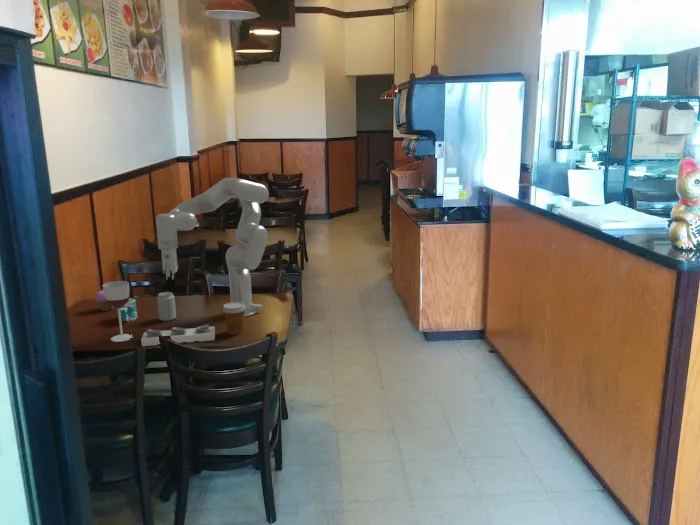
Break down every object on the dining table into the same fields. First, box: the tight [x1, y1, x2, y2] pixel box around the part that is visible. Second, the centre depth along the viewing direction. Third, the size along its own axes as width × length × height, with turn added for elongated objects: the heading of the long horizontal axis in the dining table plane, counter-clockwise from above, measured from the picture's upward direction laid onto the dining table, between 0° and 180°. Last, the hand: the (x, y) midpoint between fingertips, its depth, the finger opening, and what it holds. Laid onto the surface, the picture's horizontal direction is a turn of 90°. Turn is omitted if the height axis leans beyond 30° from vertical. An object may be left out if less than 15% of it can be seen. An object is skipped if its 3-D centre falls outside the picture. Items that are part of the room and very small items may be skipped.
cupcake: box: [95, 289, 114, 312], centre depth 271 cm, size 9×9×10 cm
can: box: [156, 291, 177, 322], centre depth 256 cm, size 8×8×12 cm
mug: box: [116, 298, 138, 322], centre depth 256 cm, size 8×12×8 cm
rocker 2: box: [195, 323, 210, 332], centre depth 232 cm, size 5×3×1 cm, turn 101°
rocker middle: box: [171, 326, 186, 333], centre depth 230 cm, size 5×3×1 cm, turn 101°
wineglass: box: [102, 280, 134, 343], centre depth 233 cm, size 9×10×23 cm
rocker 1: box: [146, 328, 162, 335], centre depth 229 cm, size 5×3×1 cm, turn 101°
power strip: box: [140, 326, 216, 347], centre depth 232 cm, size 28×8×3 cm, turn 101°
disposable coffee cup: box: [221, 301, 246, 336], centre depth 238 cm, size 10×10×12 cm
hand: (171, 288), depth 234 cm, fingers closed
